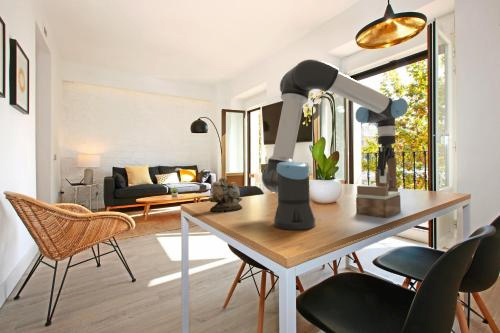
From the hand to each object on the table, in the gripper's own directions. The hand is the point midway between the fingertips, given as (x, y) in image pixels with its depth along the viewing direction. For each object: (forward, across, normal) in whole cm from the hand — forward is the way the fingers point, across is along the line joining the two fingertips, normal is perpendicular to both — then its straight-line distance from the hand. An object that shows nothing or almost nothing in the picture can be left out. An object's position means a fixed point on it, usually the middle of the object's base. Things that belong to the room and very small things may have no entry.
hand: (386, 182), depth 123 cm
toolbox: (+12, -16, -2) cm, 20 cm away
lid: (+5, -16, -2) cm, 17 cm away
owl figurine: (+14, -54, +58) cm, 80 cm away
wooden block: (+7, +1, 0) cm, 7 cm away
